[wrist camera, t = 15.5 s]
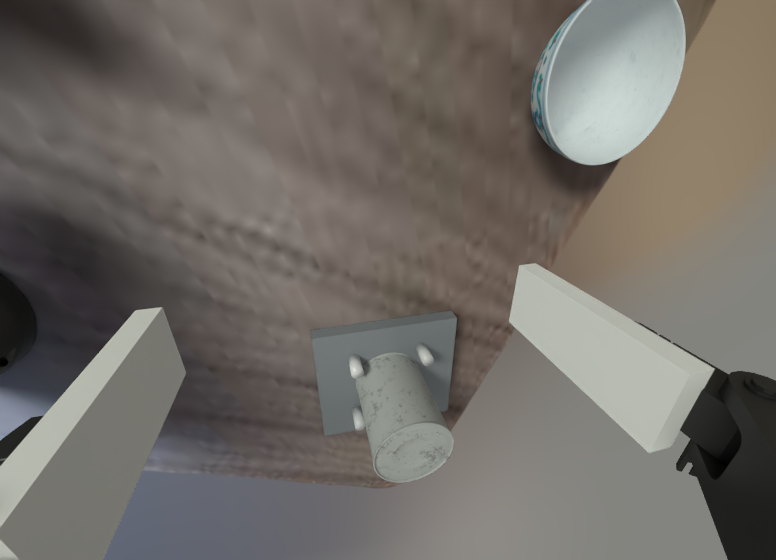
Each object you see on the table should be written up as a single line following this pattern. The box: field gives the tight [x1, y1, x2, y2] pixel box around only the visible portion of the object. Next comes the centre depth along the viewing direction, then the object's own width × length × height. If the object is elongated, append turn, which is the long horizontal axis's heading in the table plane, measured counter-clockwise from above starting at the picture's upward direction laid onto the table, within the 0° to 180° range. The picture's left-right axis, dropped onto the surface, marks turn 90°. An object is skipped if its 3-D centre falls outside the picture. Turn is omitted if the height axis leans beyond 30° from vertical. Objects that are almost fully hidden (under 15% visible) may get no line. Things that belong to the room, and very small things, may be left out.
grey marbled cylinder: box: [356, 352, 454, 483], centre depth 42 cm, size 10×10×12 cm
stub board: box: [311, 311, 457, 437], centre depth 47 cm, size 20×18×5 cm
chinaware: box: [531, 0, 686, 165], centre depth 34 cm, size 15×15×8 cm
